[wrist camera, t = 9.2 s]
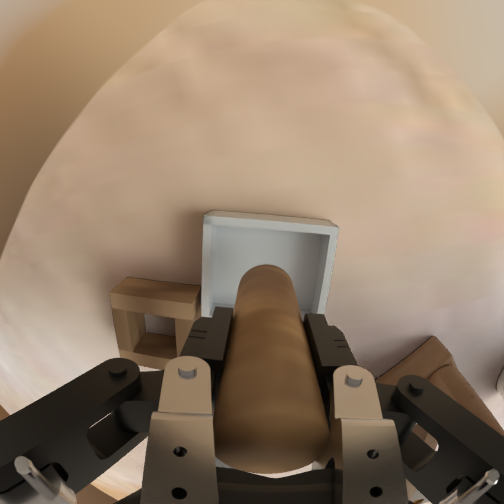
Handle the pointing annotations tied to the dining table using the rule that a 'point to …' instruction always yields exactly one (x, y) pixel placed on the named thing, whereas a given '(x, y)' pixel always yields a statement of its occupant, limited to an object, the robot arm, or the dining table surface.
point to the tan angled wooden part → (439, 386)
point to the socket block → (155, 303)
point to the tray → (266, 256)
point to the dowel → (268, 382)
